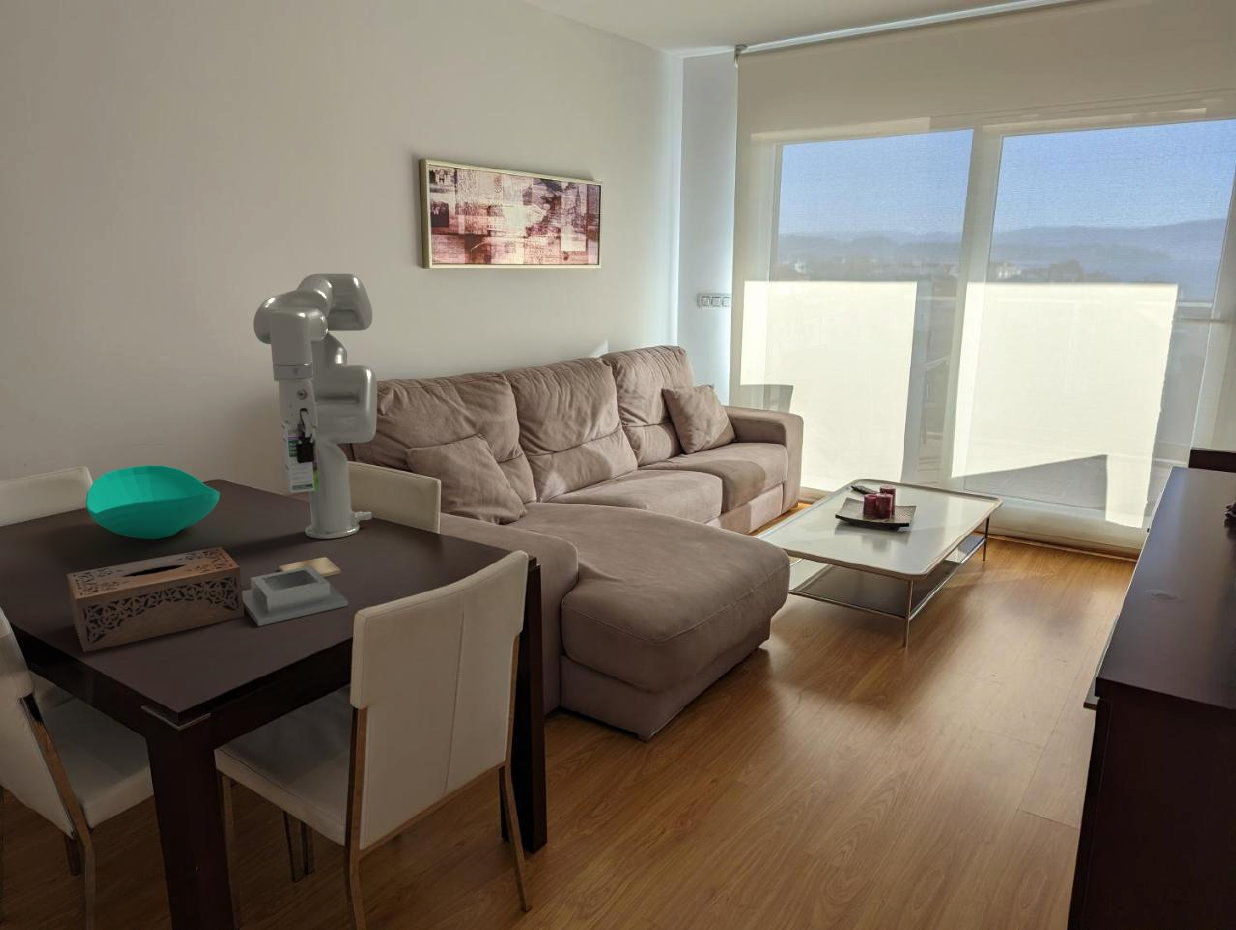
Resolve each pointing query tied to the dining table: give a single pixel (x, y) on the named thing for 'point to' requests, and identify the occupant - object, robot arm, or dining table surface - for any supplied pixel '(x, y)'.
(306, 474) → the syrup box
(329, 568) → the cork mat
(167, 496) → the table top decor
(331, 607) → the gray stepped square frame
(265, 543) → the dining table surface
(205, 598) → the tissue box cover
